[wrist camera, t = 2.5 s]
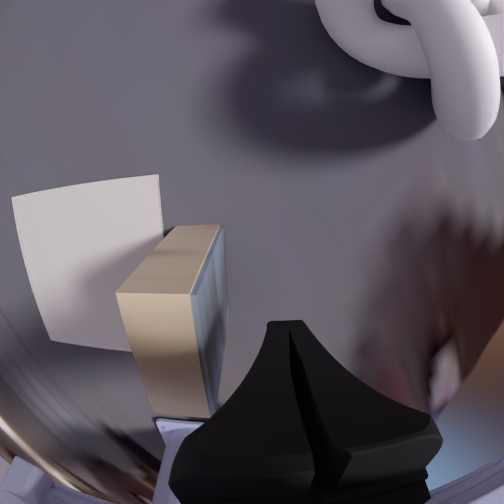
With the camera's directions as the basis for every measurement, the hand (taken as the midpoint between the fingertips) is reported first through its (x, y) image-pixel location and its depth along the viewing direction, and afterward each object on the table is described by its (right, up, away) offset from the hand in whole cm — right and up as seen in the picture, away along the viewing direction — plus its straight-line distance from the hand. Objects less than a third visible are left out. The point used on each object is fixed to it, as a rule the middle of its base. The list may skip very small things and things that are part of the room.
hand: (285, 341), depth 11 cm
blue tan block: (-4, +2, +6) cm, 8 cm away
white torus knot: (+8, +17, +1) cm, 19 cm away
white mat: (-12, +2, +6) cm, 14 cm away
